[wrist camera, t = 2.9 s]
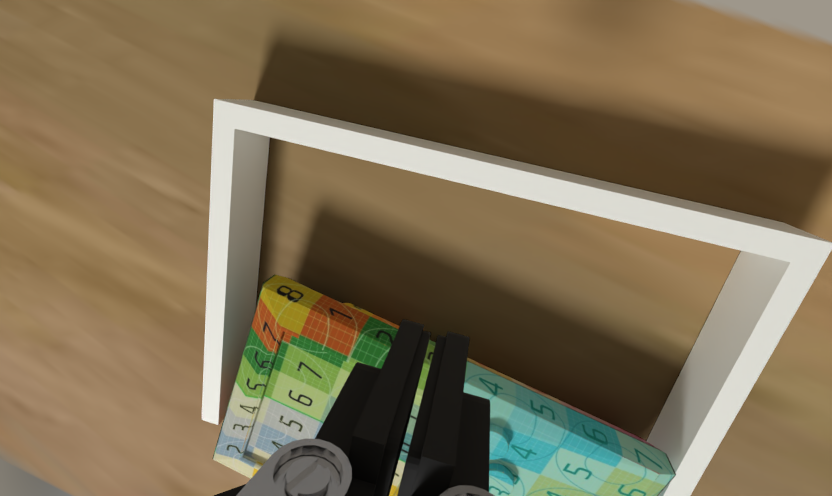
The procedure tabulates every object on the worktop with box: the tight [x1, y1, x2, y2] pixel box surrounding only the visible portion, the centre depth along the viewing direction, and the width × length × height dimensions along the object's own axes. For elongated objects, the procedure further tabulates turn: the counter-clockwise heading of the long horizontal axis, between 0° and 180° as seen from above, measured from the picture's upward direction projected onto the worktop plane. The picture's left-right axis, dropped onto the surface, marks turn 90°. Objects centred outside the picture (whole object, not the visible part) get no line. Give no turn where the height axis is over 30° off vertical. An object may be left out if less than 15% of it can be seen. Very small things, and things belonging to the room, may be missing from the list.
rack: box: [202, 99, 832, 496], centre depth 21 cm, size 24×17×3 cm
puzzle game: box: [213, 274, 676, 496], centre depth 23 cm, size 12×5×20 cm
